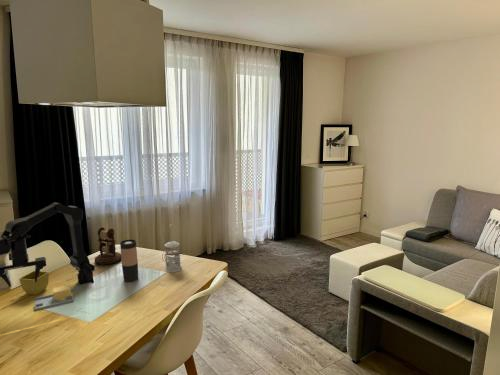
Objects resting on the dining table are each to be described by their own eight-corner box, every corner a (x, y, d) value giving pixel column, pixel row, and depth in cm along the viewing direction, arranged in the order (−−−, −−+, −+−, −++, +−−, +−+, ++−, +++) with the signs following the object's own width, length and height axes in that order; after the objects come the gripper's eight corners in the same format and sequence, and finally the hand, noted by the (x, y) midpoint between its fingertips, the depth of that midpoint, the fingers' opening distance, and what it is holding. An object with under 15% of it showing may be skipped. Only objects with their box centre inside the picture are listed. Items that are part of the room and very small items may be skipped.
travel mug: (119, 281, 175) (116, 243, 172) (130, 275, 182) (127, 238, 179) (131, 283, 172) (128, 245, 169) (142, 277, 179) (139, 240, 176)
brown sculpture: (127, 258, 206) (124, 225, 202) (109, 267, 192) (106, 233, 189) (107, 255, 211) (104, 223, 207) (88, 264, 197) (85, 230, 194)
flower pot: (37, 298, 159) (34, 279, 158) (20, 296, 161) (18, 278, 159) (51, 289, 168) (49, 271, 166) (36, 287, 169) (33, 270, 168)
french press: (186, 267, 191) (184, 223, 187) (171, 274, 182) (168, 229, 177) (173, 263, 197) (170, 221, 192) (157, 270, 187) (154, 226, 182)
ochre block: (70, 292, 163) (69, 284, 162) (71, 297, 158) (70, 289, 158) (53, 296, 159) (52, 288, 158) (54, 301, 155) (53, 292, 154)
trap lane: (72, 292, 164) (72, 289, 164) (74, 302, 155) (73, 299, 154) (35, 300, 157) (34, 297, 156) (34, 312, 147) (34, 309, 147)
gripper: (44, 241, 159) (47, 273, 161) (-6, 248, 149) (-1, 282, 152) (44, 248, 149) (48, 282, 152) (-10, 256, 140) (-4, 292, 143)
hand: (23, 284), depth 150 cm, fingers open, 9 cm apart
